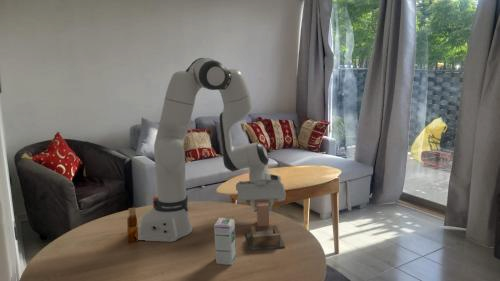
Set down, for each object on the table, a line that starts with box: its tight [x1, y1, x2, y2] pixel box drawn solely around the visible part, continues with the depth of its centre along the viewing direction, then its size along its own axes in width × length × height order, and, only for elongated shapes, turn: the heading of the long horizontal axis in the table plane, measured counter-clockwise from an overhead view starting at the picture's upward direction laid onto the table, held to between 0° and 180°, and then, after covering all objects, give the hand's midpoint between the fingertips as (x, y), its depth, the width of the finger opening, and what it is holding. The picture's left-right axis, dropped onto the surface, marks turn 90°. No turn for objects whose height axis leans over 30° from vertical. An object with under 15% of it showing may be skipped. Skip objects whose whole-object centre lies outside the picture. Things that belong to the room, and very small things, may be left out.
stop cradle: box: [245, 224, 286, 251], centre depth 146 cm, size 13×13×5 cm
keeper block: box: [256, 201, 270, 227], centre depth 160 cm, size 4×4×9 cm
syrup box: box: [213, 217, 237, 266], centre depth 132 cm, size 6×6×14 cm
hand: (262, 211), depth 159 cm, fingers closed on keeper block, 4 cm apart
